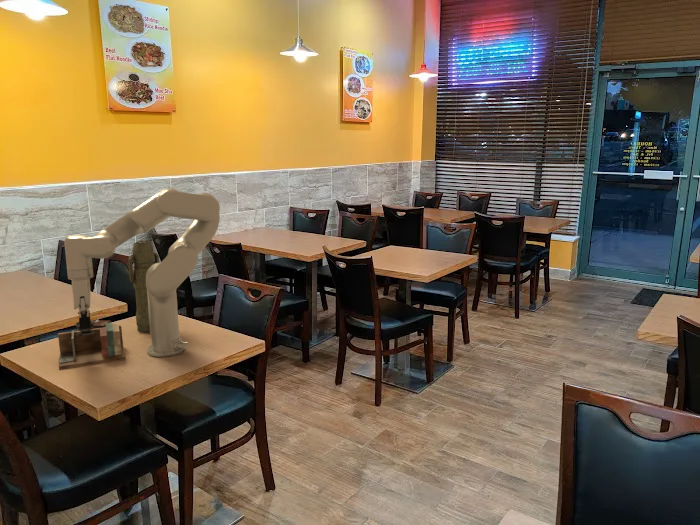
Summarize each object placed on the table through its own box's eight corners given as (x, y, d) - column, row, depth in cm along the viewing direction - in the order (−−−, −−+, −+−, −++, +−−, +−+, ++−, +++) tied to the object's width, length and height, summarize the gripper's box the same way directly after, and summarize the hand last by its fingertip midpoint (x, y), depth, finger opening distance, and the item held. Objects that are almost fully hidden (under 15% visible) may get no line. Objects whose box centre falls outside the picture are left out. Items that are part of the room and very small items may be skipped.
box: (105, 344, 197) (103, 325, 195) (89, 344, 197) (87, 325, 195) (113, 338, 203) (111, 320, 201) (97, 338, 203) (95, 320, 201)
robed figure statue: (168, 327, 216) (162, 240, 208) (143, 335, 206) (135, 245, 198) (154, 322, 220) (148, 238, 213) (129, 331, 211) (121, 242, 203)
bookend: (76, 351, 187) (74, 330, 186) (76, 361, 179) (73, 338, 178) (60, 354, 185) (57, 332, 183) (59, 363, 177) (56, 340, 176)
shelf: (123, 346, 195) (120, 319, 193) (125, 359, 184) (122, 331, 182) (60, 355, 187) (57, 327, 185) (59, 369, 175) (55, 340, 173)
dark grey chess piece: (99, 331, 183) (96, 297, 181) (85, 337, 178) (82, 302, 175) (85, 329, 185) (82, 295, 182) (71, 335, 180) (68, 300, 177)
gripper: (68, 268, 183) (73, 319, 187) (66, 280, 168) (72, 335, 172) (92, 266, 186) (97, 316, 190) (93, 277, 171) (98, 332, 175)
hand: (85, 324), depth 181 cm, fingers closed on dark grey chess piece, 5 cm apart
